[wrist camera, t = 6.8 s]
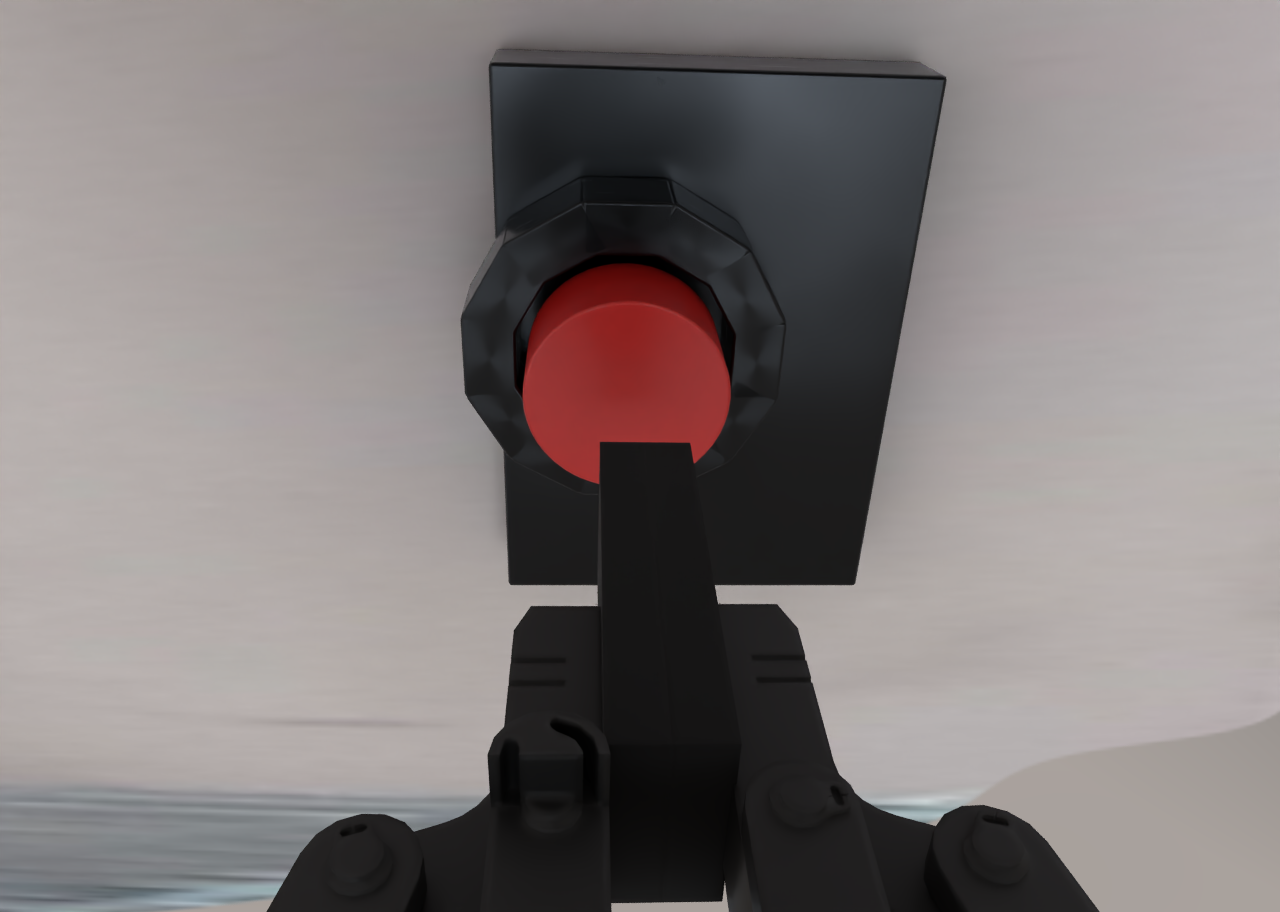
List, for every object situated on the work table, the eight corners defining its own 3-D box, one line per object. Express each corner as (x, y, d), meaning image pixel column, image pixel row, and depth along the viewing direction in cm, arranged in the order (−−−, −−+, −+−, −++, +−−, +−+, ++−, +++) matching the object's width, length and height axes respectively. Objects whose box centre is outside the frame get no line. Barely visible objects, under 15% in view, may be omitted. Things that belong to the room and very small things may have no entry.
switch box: (467, 46, 23) (445, 78, 19) (922, 61, 23) (979, 93, 20) (491, 545, 30) (478, 633, 26) (840, 546, 30) (873, 631, 27)
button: (526, 260, 22) (519, 299, 20) (725, 263, 22) (740, 303, 20) (530, 435, 24) (524, 487, 22) (711, 437, 24) (722, 489, 22)
